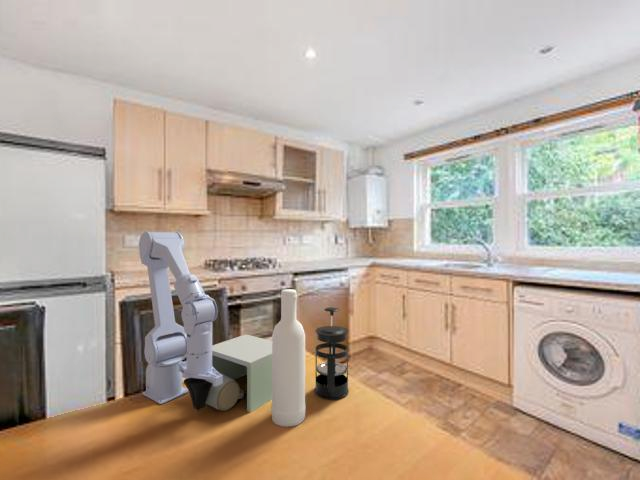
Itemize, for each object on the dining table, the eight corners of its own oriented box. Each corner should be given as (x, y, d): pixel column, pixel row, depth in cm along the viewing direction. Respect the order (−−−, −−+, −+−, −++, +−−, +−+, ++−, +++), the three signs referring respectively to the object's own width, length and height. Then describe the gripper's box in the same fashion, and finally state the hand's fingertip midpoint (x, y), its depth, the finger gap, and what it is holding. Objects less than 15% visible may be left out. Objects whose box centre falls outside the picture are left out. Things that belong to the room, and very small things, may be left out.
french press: (316, 381, 91) (316, 303, 91) (348, 382, 91) (348, 304, 91) (312, 402, 80) (312, 313, 80) (349, 404, 79) (349, 314, 79)
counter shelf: (204, 391, 85) (204, 348, 85) (245, 372, 98) (245, 334, 98) (250, 412, 75) (250, 362, 75) (290, 387, 88) (290, 345, 88)
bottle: (268, 427, 69) (269, 293, 69) (274, 408, 77) (274, 287, 77) (304, 427, 69) (304, 293, 69) (306, 408, 77) (306, 287, 77)
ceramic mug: (218, 418, 73) (218, 385, 73) (196, 407, 77) (197, 376, 77) (251, 399, 81) (252, 370, 81) (230, 390, 86) (231, 363, 86)
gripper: (166, 349, 74) (166, 405, 74) (203, 362, 66) (203, 426, 66) (192, 341, 80) (192, 393, 80) (230, 352, 72) (230, 411, 72)
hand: (199, 407), depth 74 cm, fingers closed
